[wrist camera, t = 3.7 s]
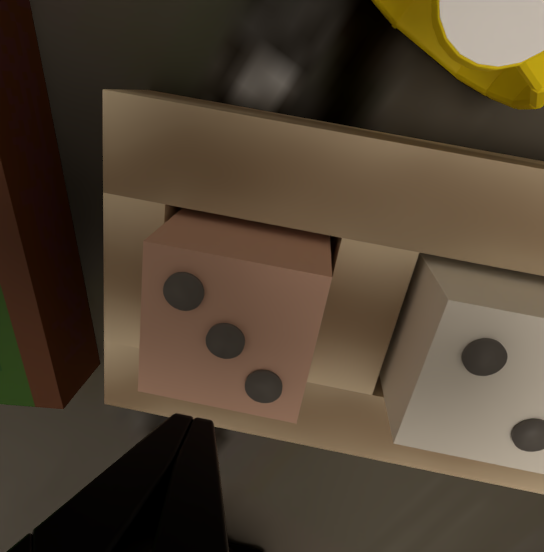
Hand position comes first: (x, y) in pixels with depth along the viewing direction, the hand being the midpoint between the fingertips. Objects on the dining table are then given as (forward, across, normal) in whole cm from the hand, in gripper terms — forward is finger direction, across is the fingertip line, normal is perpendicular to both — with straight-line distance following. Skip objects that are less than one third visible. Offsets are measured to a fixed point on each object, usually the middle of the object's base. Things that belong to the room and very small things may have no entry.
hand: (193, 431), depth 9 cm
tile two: (+7, -8, 0) cm, 11 cm away
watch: (+10, -5, -9) cm, 14 cm away
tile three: (+7, 0, 0) cm, 7 cm away
